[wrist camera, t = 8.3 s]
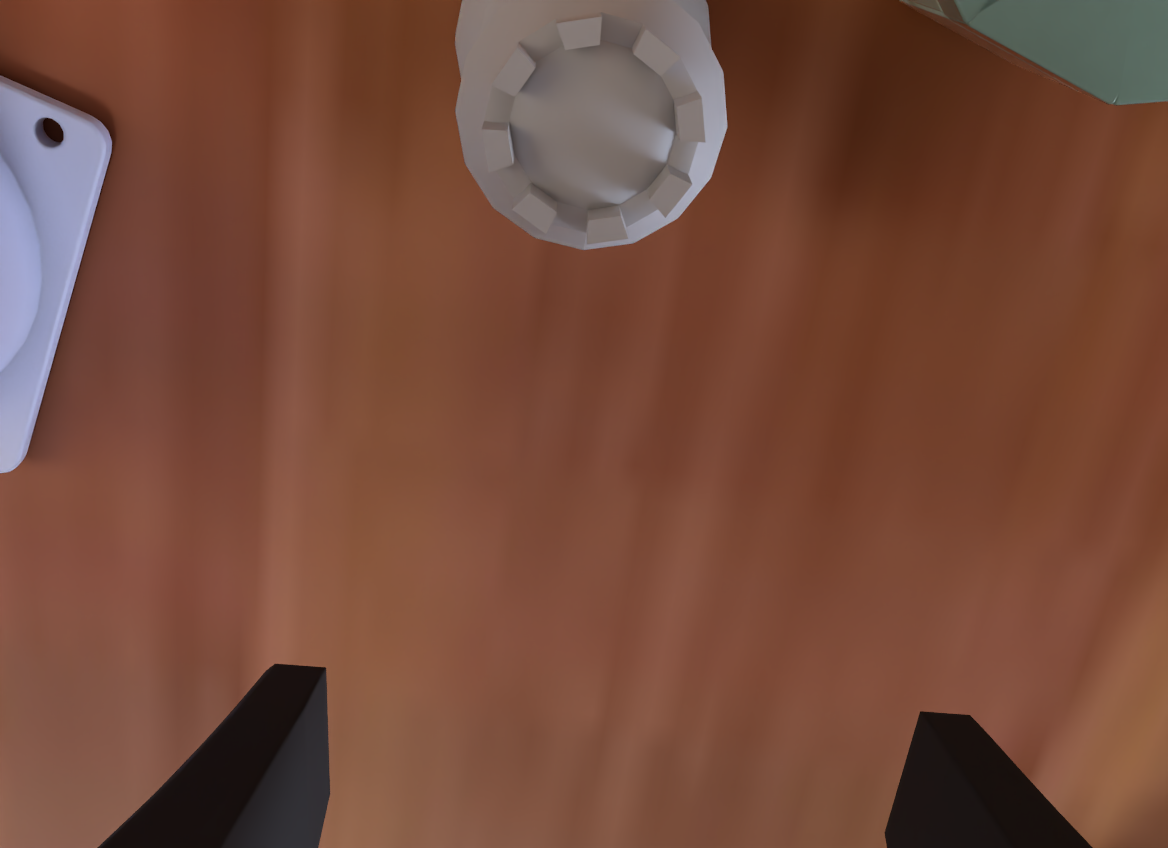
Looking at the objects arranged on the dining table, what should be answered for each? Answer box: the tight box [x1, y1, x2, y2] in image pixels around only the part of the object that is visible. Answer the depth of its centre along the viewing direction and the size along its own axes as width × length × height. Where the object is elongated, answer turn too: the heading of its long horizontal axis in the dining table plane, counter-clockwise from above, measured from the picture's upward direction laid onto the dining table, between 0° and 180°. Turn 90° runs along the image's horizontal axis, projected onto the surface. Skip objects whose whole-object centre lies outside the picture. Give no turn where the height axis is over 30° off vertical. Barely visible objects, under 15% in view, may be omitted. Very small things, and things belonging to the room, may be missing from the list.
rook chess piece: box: [455, 0, 727, 250], centre depth 16 cm, size 4×4×8 cm
